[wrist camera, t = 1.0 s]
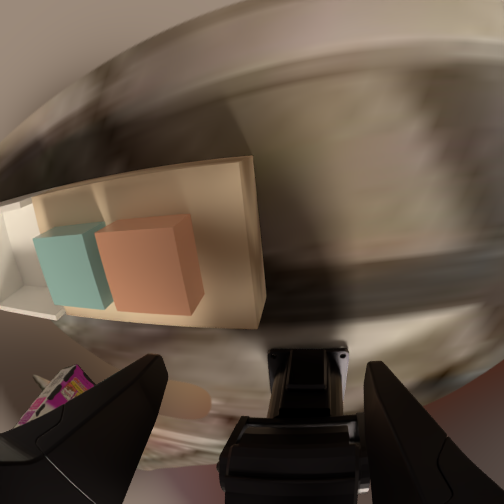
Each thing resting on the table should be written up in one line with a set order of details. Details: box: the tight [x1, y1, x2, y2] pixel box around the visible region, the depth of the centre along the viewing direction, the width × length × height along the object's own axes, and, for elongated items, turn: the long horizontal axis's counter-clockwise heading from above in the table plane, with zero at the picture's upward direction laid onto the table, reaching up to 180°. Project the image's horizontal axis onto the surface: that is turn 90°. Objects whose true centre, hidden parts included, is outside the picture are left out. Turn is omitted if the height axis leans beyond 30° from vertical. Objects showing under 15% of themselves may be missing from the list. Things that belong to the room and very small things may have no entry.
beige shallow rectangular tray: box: [31, 155, 267, 329], centre depth 21 cm, size 10×16×4 cm, turn 96°
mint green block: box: [33, 221, 114, 310], centre depth 18 cm, size 5×5×2 cm
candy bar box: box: [14, 364, 96, 428], centre depth 26 cm, size 11×5×16 cm, turn 32°
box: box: [0, 186, 66, 320], centre depth 23 cm, size 10×11×5 cm
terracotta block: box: [94, 214, 205, 316], centre depth 17 cm, size 5×5×2 cm
